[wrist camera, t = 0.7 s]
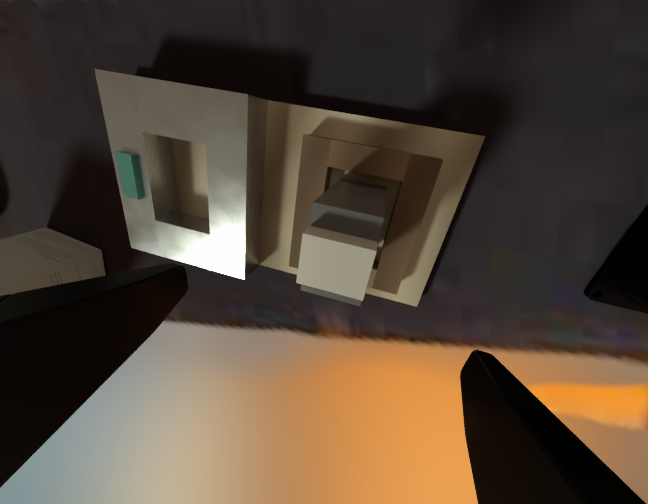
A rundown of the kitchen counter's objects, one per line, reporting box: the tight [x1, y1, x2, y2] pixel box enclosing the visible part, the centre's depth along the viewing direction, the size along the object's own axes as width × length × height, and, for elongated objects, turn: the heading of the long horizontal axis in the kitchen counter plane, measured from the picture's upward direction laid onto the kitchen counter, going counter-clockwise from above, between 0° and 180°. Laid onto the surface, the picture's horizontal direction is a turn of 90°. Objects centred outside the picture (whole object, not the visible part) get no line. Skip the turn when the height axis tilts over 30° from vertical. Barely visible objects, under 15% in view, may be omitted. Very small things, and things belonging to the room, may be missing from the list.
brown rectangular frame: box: [289, 134, 443, 295], centre depth 17 cm, size 8×9×2 cm
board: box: [173, 100, 485, 307], centre depth 19 cm, size 24×12×1 cm, turn 80°
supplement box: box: [0, 228, 106, 296], centre depth 23 cm, size 7×7×13 cm
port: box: [95, 69, 268, 280], centre depth 18 cm, size 10×12×3 cm
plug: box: [296, 178, 387, 306], centre depth 14 cm, size 3×4×8 cm, turn 170°
